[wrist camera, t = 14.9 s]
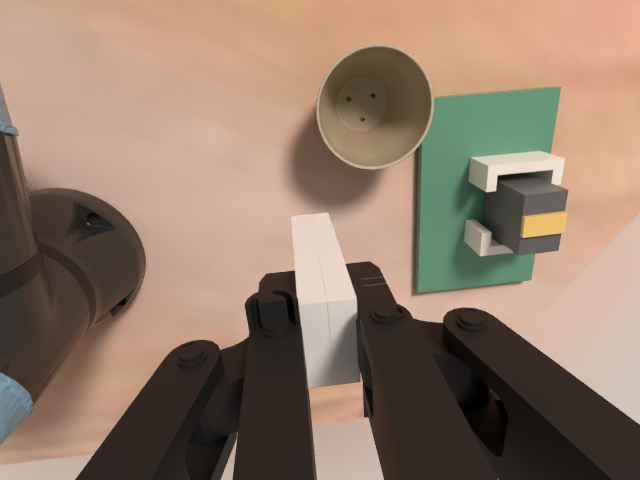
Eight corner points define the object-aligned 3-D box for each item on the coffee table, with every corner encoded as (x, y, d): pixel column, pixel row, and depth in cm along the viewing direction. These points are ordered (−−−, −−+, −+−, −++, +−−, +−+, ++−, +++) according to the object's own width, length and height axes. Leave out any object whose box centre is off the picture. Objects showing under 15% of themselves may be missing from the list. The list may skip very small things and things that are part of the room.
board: (415, 288, 49) (429, 311, 44) (419, 98, 40) (438, 102, 35) (525, 275, 50) (551, 297, 45) (553, 86, 41) (589, 88, 36)
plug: (481, 226, 45) (520, 257, 38) (485, 174, 42) (527, 196, 35) (515, 222, 45) (561, 252, 38) (521, 170, 43) (571, 191, 35)
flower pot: (429, 100, 40) (458, 106, 34) (360, 173, 43) (374, 192, 36) (360, 23, 37) (378, 13, 30) (289, 107, 39) (291, 114, 33)
